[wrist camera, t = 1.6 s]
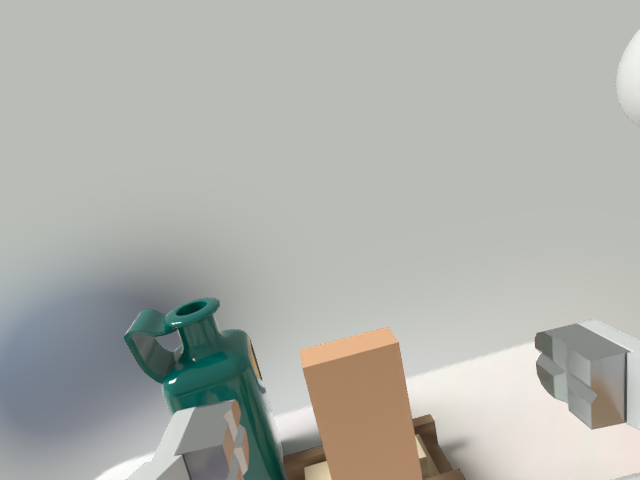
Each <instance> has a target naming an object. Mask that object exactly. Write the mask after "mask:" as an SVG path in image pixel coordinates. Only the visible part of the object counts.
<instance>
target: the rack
mask: <svg viewBox="0 0 640 480" xmlns="http://www.w3.org/2000/svg"><path fill="white" fill-rule="evenodd" d="M412 421H413V427H414V433H415V435H417V434H419V436H420V437H421V439H422V441H423V443H424V445H425V447H426V449H427V451H428V453H429V454H430V456H431V458H432V460H433V462H434V464H435V466H436V468H437V470H438V472H439V473H440V475H438V476H434V477H431V478H428V479H424V480H466V479H465V478H464V476H463V474H462V473H461V471H460V469H457V470H454V471H453V469H452V468H451V466H450V464H449V462H448V461H447V459H446V457H445V455H444V454H443V452H442V450H441V448H440V447H439V445H438V441H437V435H436V428H435V422H434V420H433V418H432V416H431V415H430V414H429V415H425V416H422V417H418V418H415V419H412ZM325 461H327V460H326V456H325V452H324V449H323V445H321V446H318V447H314V448H311V449H308V450H304V451H301V452H297V453H294V454H290V455H287V456H283V466H284V469H285V472H286V476H287V479H288V480H305V470H304V467H308V466H311V465H314V464H318V463H321V462H325Z"/></svg>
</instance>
